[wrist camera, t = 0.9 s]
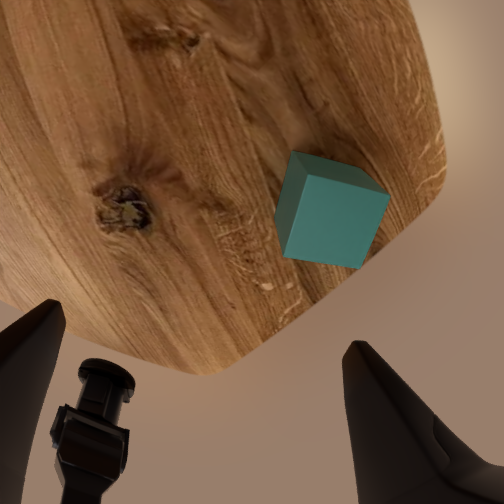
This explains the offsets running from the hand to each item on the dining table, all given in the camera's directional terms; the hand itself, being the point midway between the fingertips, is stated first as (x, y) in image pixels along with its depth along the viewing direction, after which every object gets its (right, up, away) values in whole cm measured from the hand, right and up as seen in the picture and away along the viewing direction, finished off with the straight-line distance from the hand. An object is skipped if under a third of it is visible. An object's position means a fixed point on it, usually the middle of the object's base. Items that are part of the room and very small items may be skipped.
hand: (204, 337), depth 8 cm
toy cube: (+6, +7, +12) cm, 15 cm away
